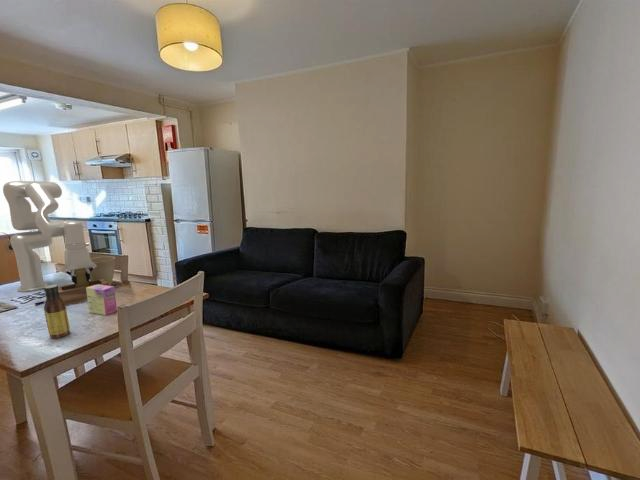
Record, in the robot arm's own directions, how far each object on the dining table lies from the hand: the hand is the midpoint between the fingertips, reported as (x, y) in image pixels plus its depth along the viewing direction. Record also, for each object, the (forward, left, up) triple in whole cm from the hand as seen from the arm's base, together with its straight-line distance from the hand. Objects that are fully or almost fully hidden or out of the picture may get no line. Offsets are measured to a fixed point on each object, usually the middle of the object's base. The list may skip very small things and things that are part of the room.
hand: (81, 281), depth 159 cm
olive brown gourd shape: (0, 0, -4) cm, 4 cm away
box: (+28, +3, -9) cm, 30 cm away
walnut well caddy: (0, 0, -9) cm, 9 cm away
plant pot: (-15, +11, -9) cm, 21 cm away
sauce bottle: (+43, -14, -9) cm, 46 cm away
